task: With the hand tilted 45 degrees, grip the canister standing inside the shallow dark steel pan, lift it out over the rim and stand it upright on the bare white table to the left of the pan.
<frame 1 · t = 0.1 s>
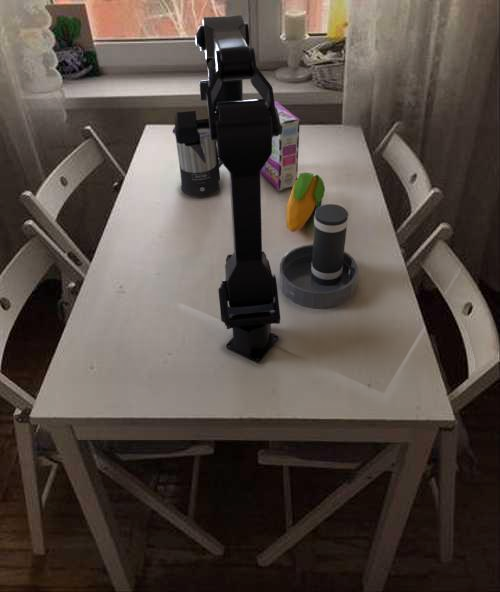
hand: (228, 159, 109), 15 cm above the table, tool pointing down, fingers open, 9 cm apart
canister: (326, 276, 106), resting on pan
candy bar box: (277, 179, 134), on the table
corn: (303, 217, 121), on the table
milk frother: (204, 179, 135), on the table
pan: (317, 284, 105), on the table
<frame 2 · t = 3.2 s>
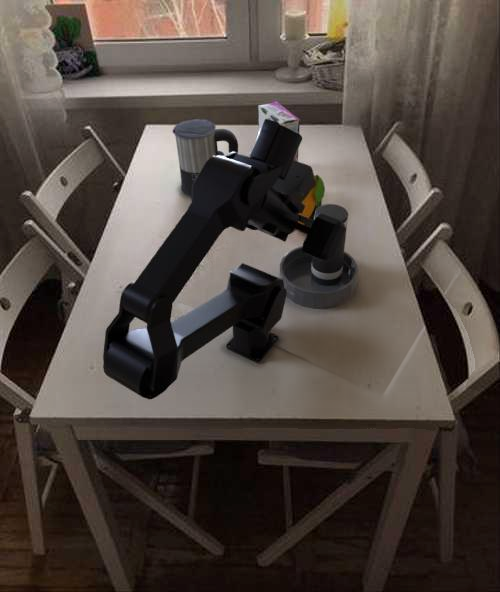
hand: (304, 235, 93), 14 cm above the table, tool tilted 45°, fingers open, 9 cm apart
nothing on the table moved.
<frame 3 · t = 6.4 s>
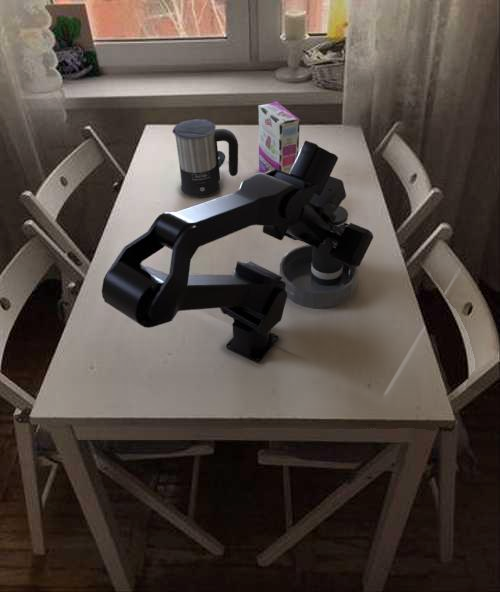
hand: (333, 241, 102), 8 cm above the table, tool tilted 45°, fingers closed on canister, 5 cm apart
canister: (326, 276, 106), resting on pan, touching gripper
everything else where it was.
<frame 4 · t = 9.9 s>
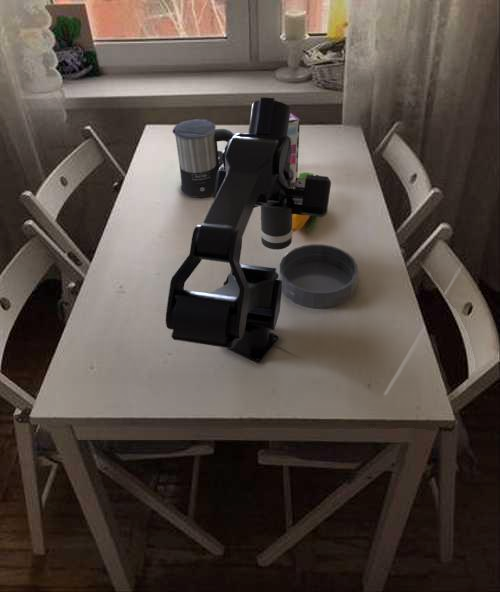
hand: (278, 203, 101), 13 cm above the table, tool tilted 45°, fingers closed on canister, 5 cm apart
canister: (276, 240, 105), point 6 cm above the table, touching gripper
everything else where it was.
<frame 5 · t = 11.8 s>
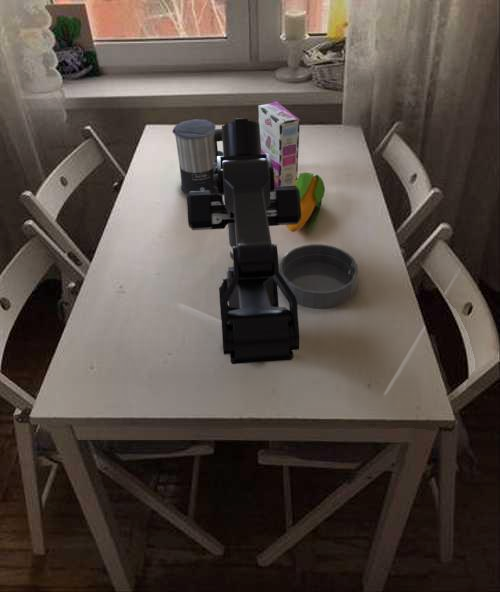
hand: (243, 218, 103), 11 cm above the table, tool tilted 45°, fingers closed on canister, 5 cm apart
canister: (244, 254, 106), point 3 cm above the table, touching gripper
everything else where it was.
when the fingers open (7 cm above the table, at t = 13.3 s): canister stays where it is, on the table.
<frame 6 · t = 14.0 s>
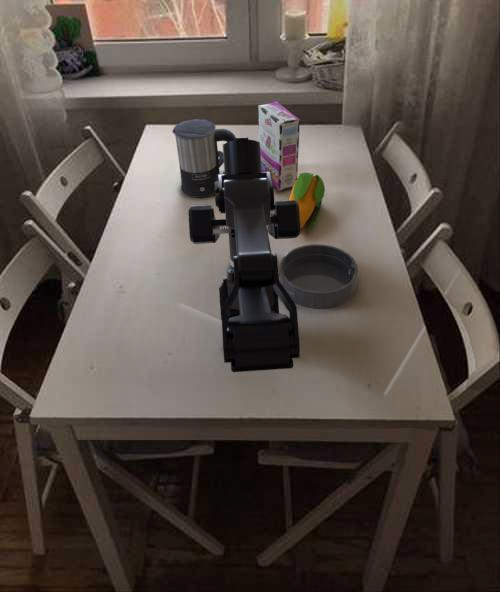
hand: (243, 230, 105), 8 cm above the table, tool tilted 45°, fingers open, 9 cm apart
canister: (245, 268, 109), on the table
everything else where it was.
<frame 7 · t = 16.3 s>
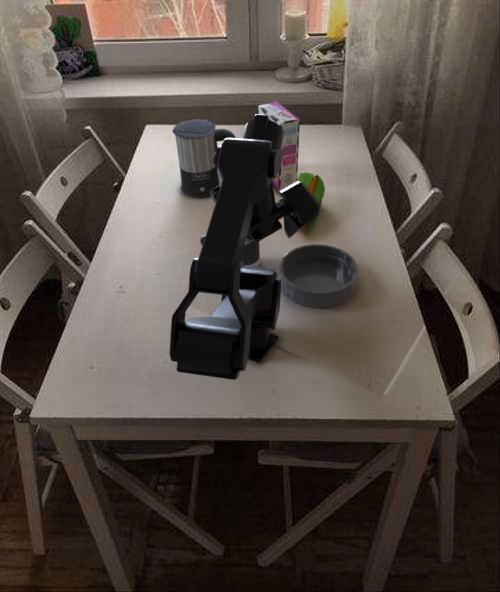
hand: (264, 249, 96), 11 cm above the table, tool tilted 25°, fingers open, 9 cm apart
nothing on the table moved.
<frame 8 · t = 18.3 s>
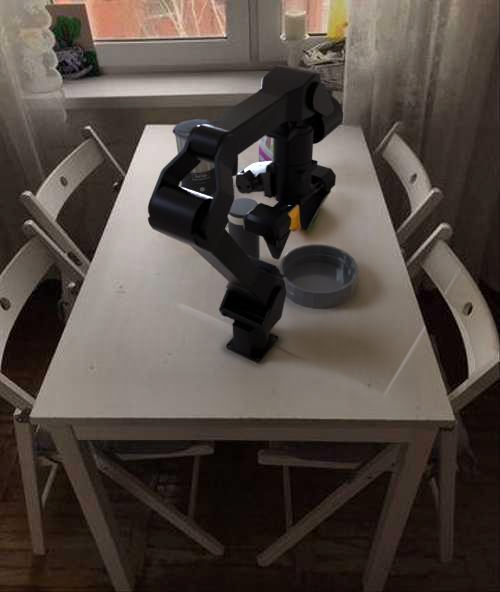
hand: (290, 243, 93), 13 cm above the table, tool pointing down, fingers open, 9 cm apart
nothing on the table moved.
at the end: canister inside the target area (0.0 cm from its centre), on the table; canister tilted 0°; the gripper is holding nothing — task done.
